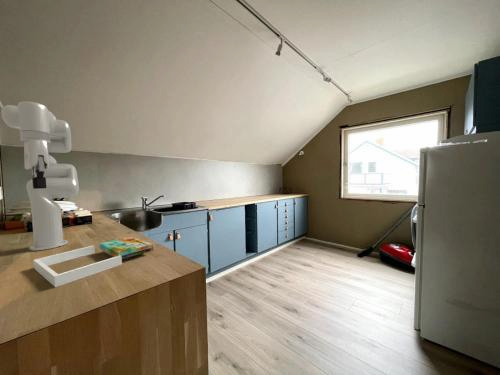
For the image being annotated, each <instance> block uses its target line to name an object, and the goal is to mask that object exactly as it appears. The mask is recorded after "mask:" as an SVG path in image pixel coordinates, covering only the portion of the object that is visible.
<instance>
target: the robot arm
mask: <svg viewBox="0 0 500 375" xmlns="http://www.w3.org/2000/svg"><path fill="white" fill-rule="evenodd" d="M0 113H1V118H2V120H3V122H4V124H6V125H7V126H8V127H9V128H12V129H15V130H16V129H17V130H19V134H20V142H21V143H22V142H23V143H24V146H23V151H24V152H23V157H24V169H25V170H31V176H32V177H31V178H32V179H30V180H28V181H27V183H26V186H25V187H26V192H27V195H28V198H29V202H30V208H31V209H30V210H31V211H30V212H31V222H32V232H33V233H32V234H33V245H30V246H29V247H28V249H29V251H35V252H36V251H44V250H50V249H56V248H59V246H60V247H62V246H65V245H67V244H68V242H69V241H68V240H67V239H64V235H63V234H64V233H63V222H62V220H63V219H62V210H61V209H62V208H61V206H60V205H59V204H58V203H57V202H56V201H55V200H53V199H63V198H73V197H76V196H77V195H78V194H79V192H80V186H79V185H80V184H79V180H78V179H79V178H78V172H77V169H76V167H75V166H74V165H72V164H71V163H70V164H69V163H58V162H57V160H56V159H55V157H53V156H52V155H50V153H54V154H55V153H58V154H59V153H61V154H62V153H63V154H67V153H70V152H71V151H72V133H71V128H70V125H69V123H68V122H67V121H66V120H62V119H58V118H56V116H55V115H54V114H53V112H52V111H50V110H49V109H48V107H47V106H46V105H44V104H42V103H39V102H35V101H30V100H29V101H26V100H24V101H20V102H19V103H18V104H17V105H13V104H7V105H4V106H3V107H2V109H1V112H0Z"/></svg>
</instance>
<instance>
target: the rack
mask: <svg viewBox="0 0 500 375" xmlns="http://www.w3.org/2000/svg"><path fill="white" fill-rule="evenodd" d="M95 249H96V248H95V245H89V246H86V247H80V248H76V249H72V250H69V251H65V252H60V253H57V254H52V255H48V256H44V257H39V258H35V259H33V268H34V270H35V271H36V272H37V273H39V274H40V275H41V276H42V277H43V278H44V279H45V280H47V282H48V283H50V284H51V285H52V286H53V287H54V288H57V287H60V286H63V285H66V284H69V283H72V282H74V281H78V280H80V279H83V278H87V277H90V276H92V275H96V274H98V273H99V274H100V273H101V272H105V271H108V270H110V269H112V268H116V267H118V266H121V265H123V259H122V257H121V256H116V257H110V258H107V259H104V260H100V261H97V262H93V263H91V264H88V265H85V266H81V267H78V268H74V269H71V270H68V271H65V272H62V273H57V272H56V271H55V270H53V269H52V268H50V267H49V266H52V265H56V264H59V263H63V262H66V261H70V260H75V259H78V258H83V257H85V256H88V255H89V256H90V255H92V254H95V252H96V250H95Z"/></svg>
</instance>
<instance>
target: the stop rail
mask: <svg viewBox="0 0 500 375" xmlns="http://www.w3.org/2000/svg"><path fill="white" fill-rule="evenodd" d="M146 251H149V252H152V251H154V245H153V244H152V248H149V249H147V250H146Z"/></svg>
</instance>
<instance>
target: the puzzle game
mask: <svg viewBox="0 0 500 375" xmlns="http://www.w3.org/2000/svg"><path fill="white" fill-rule="evenodd" d="M152 245H153V244H152V243H150V242H147V241H144V240H142V239H139V238H136V237H134V236H127V237H121V238H118V239H112V240H108V241H104V242H100V243H99V244H98V247H99V249H100V250H101V251H103V252H104V253H105V254H107V255H109V256H110V257H111V258H113V257H116V256H121V257H122V260H124V259H128V258H131V257H135V256H138V255H142V254H144V253H145V252H146V251H148V250H147V249H149V248H152Z"/></svg>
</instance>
